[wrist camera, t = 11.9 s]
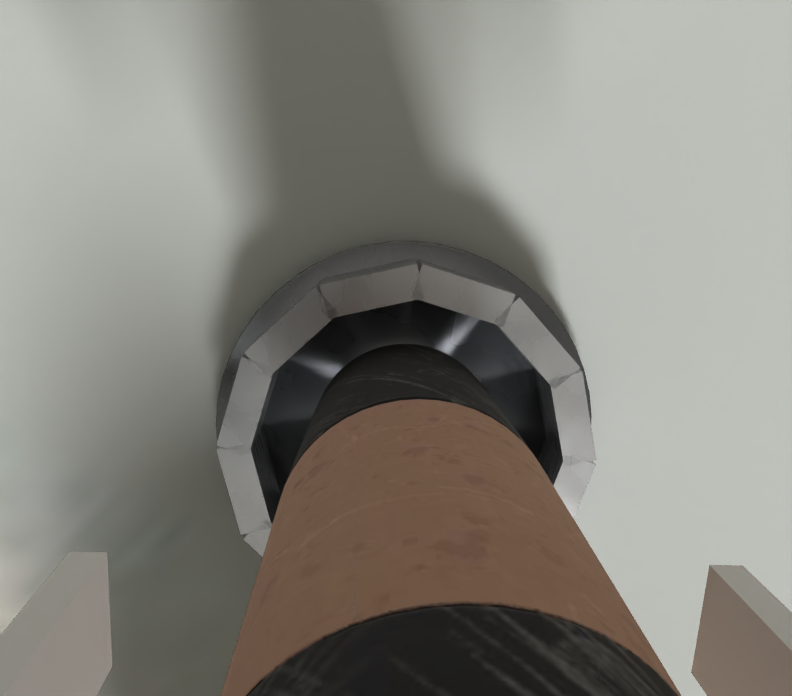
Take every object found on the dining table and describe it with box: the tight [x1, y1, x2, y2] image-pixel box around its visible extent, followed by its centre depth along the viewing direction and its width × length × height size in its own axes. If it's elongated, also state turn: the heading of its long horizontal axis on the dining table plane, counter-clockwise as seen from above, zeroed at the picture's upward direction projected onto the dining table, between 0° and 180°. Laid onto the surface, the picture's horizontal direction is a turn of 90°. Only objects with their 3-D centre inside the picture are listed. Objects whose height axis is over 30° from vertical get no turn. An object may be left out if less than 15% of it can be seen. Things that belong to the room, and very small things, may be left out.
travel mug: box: [221, 344, 681, 696], centre depth 17 cm, size 8×8×20 cm
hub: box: [216, 241, 596, 557], centre depth 26 cm, size 15×15×4 cm
